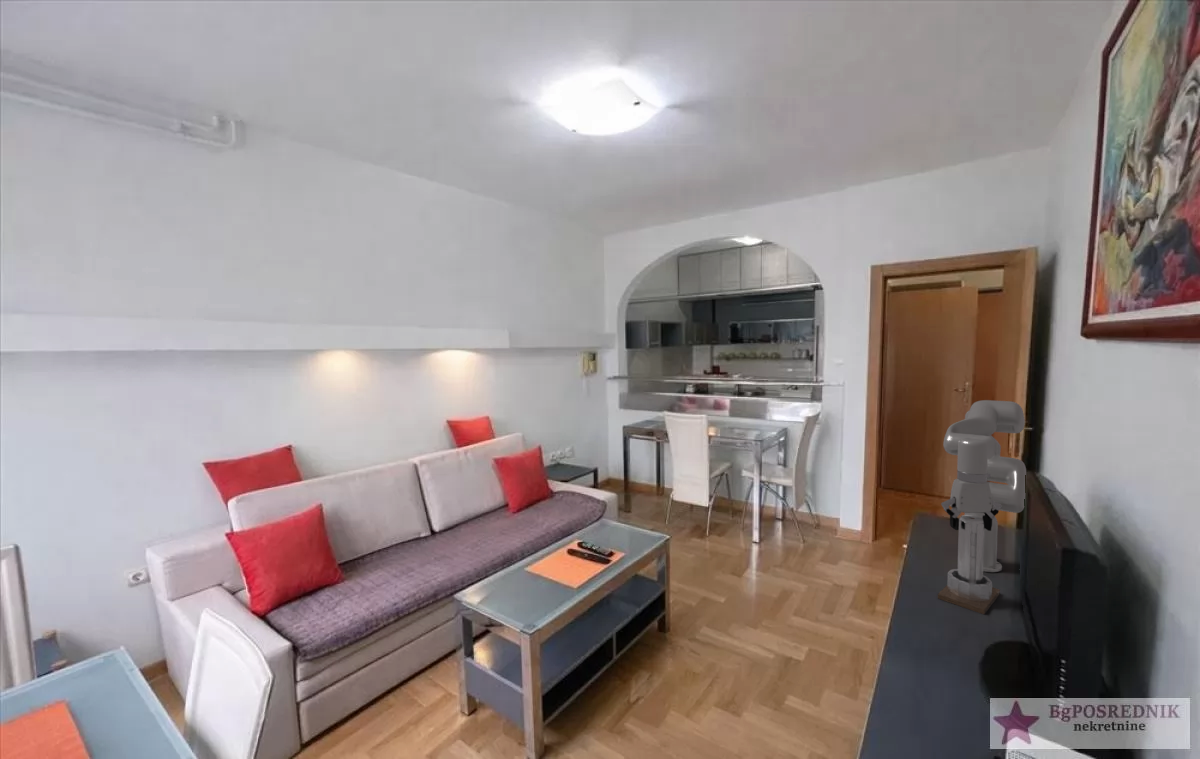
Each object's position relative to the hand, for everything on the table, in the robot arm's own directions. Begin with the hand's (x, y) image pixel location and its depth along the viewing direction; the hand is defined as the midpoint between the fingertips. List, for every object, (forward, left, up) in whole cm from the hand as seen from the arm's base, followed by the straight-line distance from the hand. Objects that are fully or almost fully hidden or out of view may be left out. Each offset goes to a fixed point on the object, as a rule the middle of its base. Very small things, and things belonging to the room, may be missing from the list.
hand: (970, 528), depth 151 cm
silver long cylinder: (0, 0, -21) cm, 21 cm away
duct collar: (0, 0, -23) cm, 23 cm away
